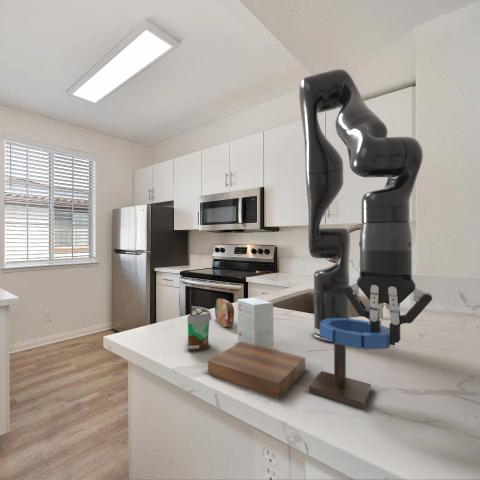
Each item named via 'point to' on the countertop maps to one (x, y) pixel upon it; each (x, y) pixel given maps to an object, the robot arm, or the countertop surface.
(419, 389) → the countertop surface
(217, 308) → the mottled orange brown slab
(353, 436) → the countertop surface
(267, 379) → the platform
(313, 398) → the countertop surface
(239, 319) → the small box
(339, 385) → the ring stand
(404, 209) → the robot arm
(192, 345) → the food container
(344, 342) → the ring
